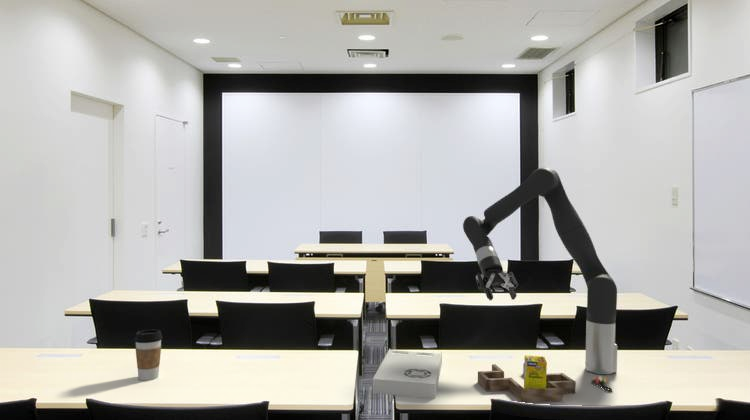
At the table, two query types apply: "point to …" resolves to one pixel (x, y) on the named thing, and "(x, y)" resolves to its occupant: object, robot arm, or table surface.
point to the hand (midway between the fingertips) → (502, 298)
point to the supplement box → (535, 372)
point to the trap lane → (553, 392)
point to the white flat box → (408, 374)
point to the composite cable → (601, 383)
